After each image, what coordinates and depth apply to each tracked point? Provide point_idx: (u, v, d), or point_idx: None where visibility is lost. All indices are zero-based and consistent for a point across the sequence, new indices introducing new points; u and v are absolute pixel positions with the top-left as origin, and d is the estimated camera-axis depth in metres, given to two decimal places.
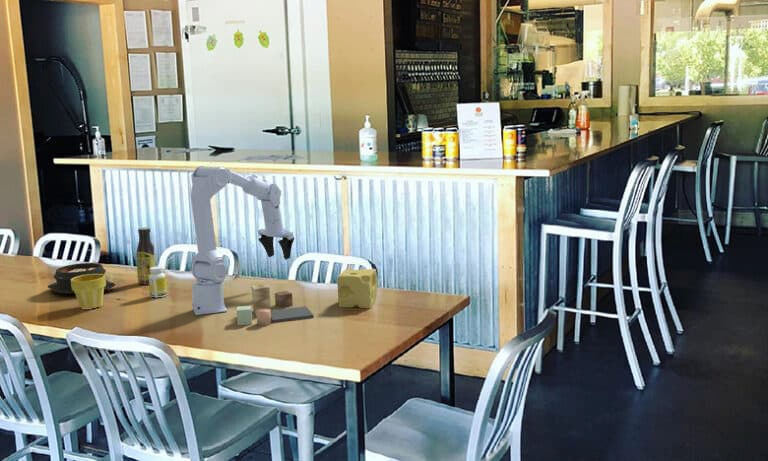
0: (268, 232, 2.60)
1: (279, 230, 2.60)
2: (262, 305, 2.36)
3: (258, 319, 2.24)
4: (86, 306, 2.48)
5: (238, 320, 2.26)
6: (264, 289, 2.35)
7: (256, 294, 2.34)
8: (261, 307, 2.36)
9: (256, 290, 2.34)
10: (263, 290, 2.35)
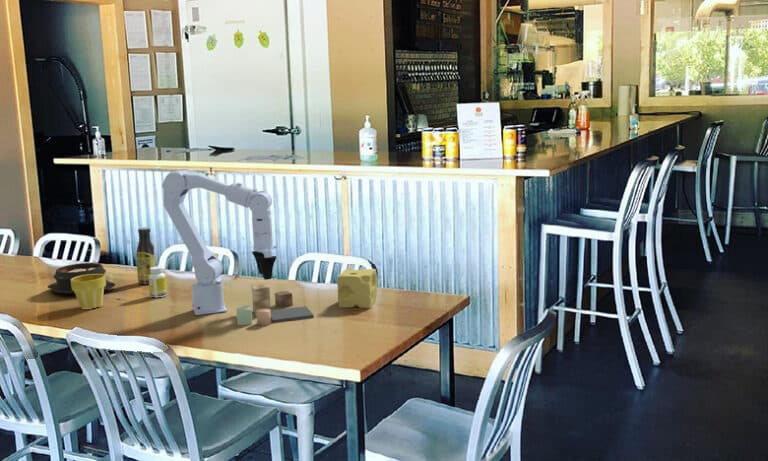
0: None
1: (262, 246, 2.34)
2: (262, 305, 2.36)
3: (258, 319, 2.24)
4: (86, 306, 2.48)
5: (238, 320, 2.26)
6: (264, 289, 2.35)
7: (256, 294, 2.34)
8: (261, 307, 2.36)
9: (256, 290, 2.34)
10: (263, 290, 2.35)
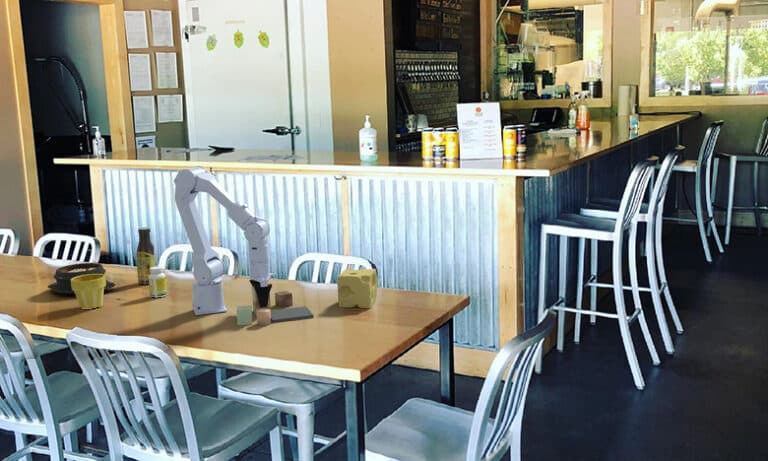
0: (250, 274, 2.35)
1: (259, 274, 2.33)
2: None
3: (258, 319, 2.24)
4: (86, 306, 2.48)
5: (238, 320, 2.26)
6: None
7: (256, 294, 2.34)
8: (261, 307, 2.35)
9: None
10: None
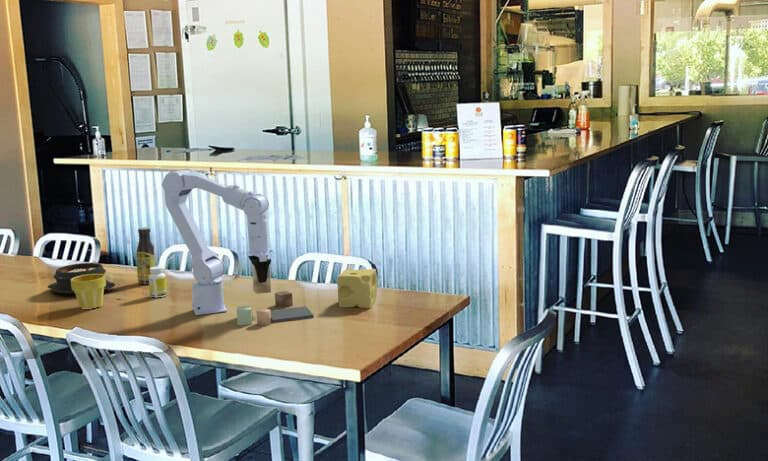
0: (249, 249, 2.33)
1: (258, 250, 2.31)
2: (262, 284, 2.34)
3: (258, 319, 2.24)
4: (86, 306, 2.48)
5: (238, 320, 2.26)
6: None
7: (256, 273, 2.33)
8: (261, 286, 2.34)
9: None
10: None
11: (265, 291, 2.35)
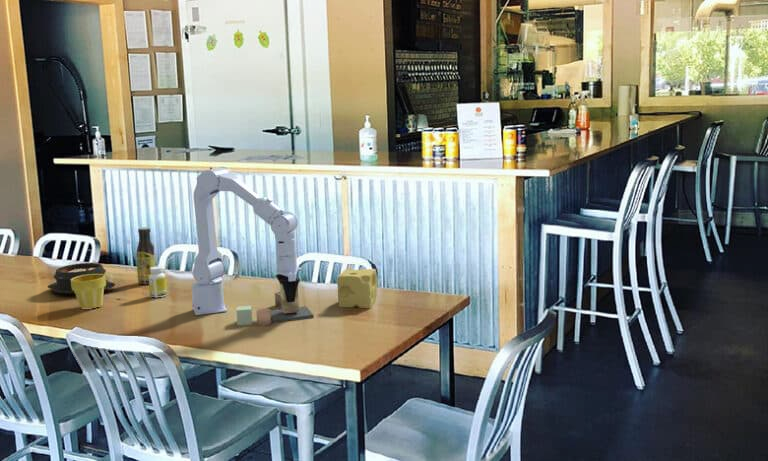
0: (277, 268, 2.30)
1: (286, 269, 2.28)
2: (290, 304, 2.31)
3: (258, 319, 2.24)
4: (86, 306, 2.48)
5: (238, 320, 2.26)
6: None
7: (284, 292, 2.29)
8: (289, 305, 2.31)
9: None
10: None
11: (293, 311, 2.31)
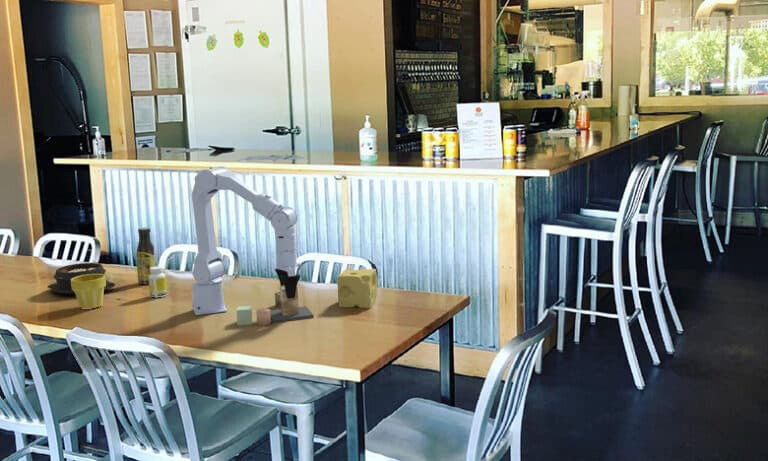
0: (277, 263, 2.30)
1: (286, 264, 2.28)
2: (290, 306, 2.31)
3: (258, 319, 2.24)
4: (86, 306, 2.48)
5: (238, 320, 2.26)
6: None
7: (284, 294, 2.30)
8: (289, 308, 2.31)
9: (284, 290, 2.29)
10: None
11: (293, 313, 2.31)
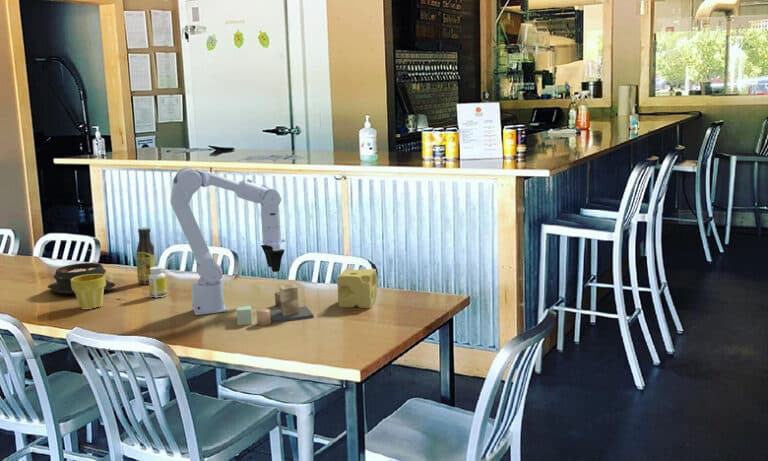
0: None
1: (271, 240, 2.43)
2: (290, 306, 2.31)
3: (258, 319, 2.24)
4: (86, 306, 2.48)
5: (238, 320, 2.26)
6: (292, 289, 2.30)
7: (284, 294, 2.30)
8: (289, 308, 2.31)
9: (284, 290, 2.29)
10: (291, 291, 2.30)
11: (293, 313, 2.31)
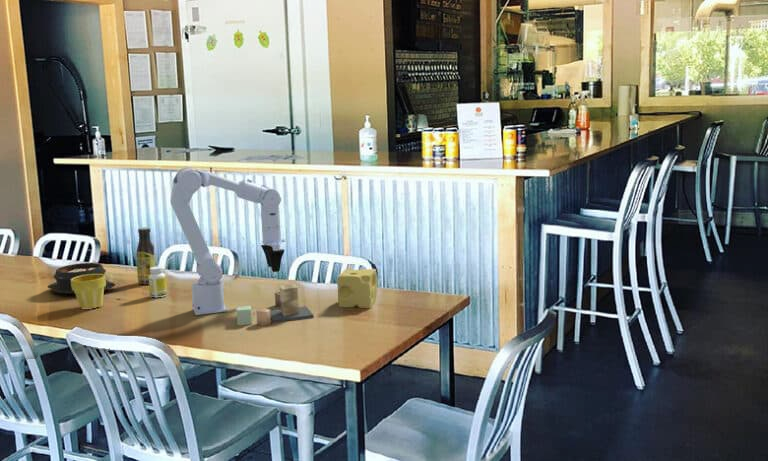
0: None
1: (271, 240, 2.43)
2: (290, 306, 2.31)
3: (258, 319, 2.24)
4: (86, 306, 2.48)
5: (238, 320, 2.26)
6: (292, 289, 2.30)
7: (284, 294, 2.30)
8: (289, 308, 2.31)
9: (284, 290, 2.29)
10: (291, 291, 2.30)
11: (293, 313, 2.31)
